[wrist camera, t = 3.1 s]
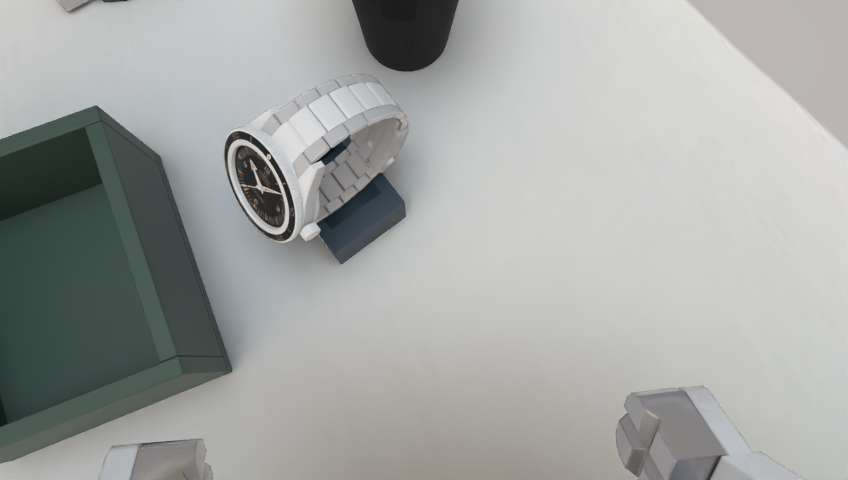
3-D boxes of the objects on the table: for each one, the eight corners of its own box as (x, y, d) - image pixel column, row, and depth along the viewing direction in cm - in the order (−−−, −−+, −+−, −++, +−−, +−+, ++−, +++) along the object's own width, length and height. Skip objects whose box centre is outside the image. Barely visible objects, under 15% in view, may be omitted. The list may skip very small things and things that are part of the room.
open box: (233, 371, 32) (184, 374, 25) (11, 460, 31) (-102, 488, 24) (159, 155, 34) (96, 104, 27) (-50, 232, 33) (-169, 198, 26)
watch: (252, 206, 33) (173, 132, 22) (371, 122, 34) (350, 12, 24) (312, 287, 32) (260, 251, 22) (432, 199, 33) (439, 122, 23)
